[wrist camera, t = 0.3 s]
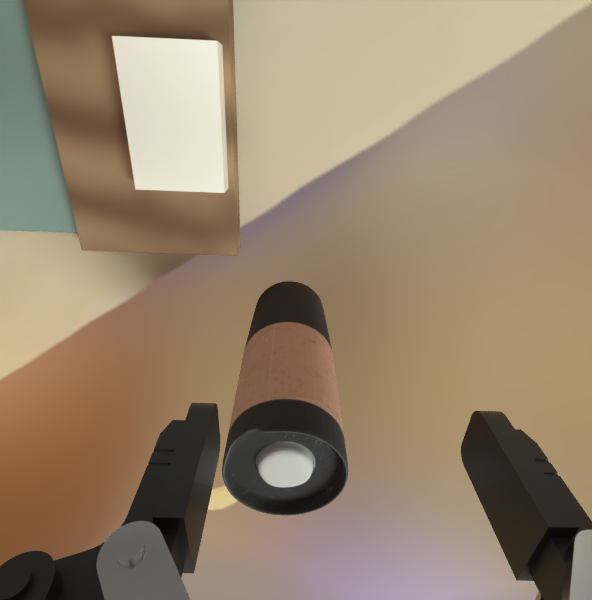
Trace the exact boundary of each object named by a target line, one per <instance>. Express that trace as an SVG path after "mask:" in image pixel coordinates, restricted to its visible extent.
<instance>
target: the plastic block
mask: <svg viewBox="0 0 592 600" xmlns="http://www.w3.org/2000/svg"><path fill="white" fill-rule="evenodd" d="M112 41H113V47H114V54H115V60H116V67H117V73H118V80H119V86H120V93H121V99H122V106H123V112H124V119H125V125H126V132H127V138H128V145H129V151H130V158H131V164H132V171H133V177H134V184H135V190H160V191H186V192H211V193H225V192H226V191H227V189H228V166H227V142H226V119H225V95H224V71H223V48H222V44H220V43H219V42H218V41H212V40H191V39H170V38H149V37H127V36H112Z"/></svg>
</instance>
